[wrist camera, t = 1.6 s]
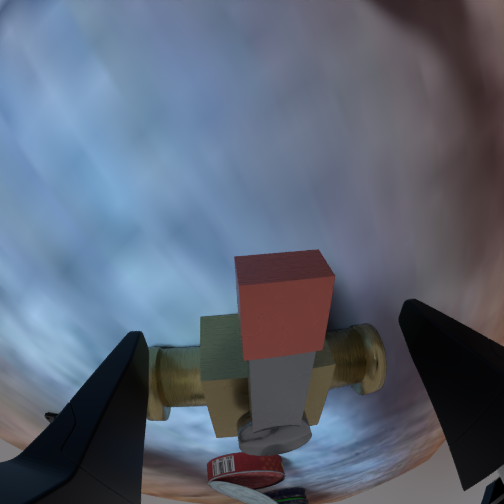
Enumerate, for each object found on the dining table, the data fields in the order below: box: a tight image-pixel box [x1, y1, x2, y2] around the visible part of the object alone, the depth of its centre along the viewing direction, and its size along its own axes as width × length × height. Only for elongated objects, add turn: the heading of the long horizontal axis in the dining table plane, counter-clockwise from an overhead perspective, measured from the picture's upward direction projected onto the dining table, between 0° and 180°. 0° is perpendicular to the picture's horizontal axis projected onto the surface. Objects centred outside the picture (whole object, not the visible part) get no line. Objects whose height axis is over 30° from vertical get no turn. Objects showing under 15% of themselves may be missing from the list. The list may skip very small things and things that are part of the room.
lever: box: [234, 249, 335, 456], centre depth 12 cm, size 13×4×2 cm, turn 1°
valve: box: [147, 314, 387, 438], centre depth 18 cm, size 7×15×6 cm, turn 91°
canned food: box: [207, 452, 285, 504], centre depth 30 cm, size 11×10×10 cm
